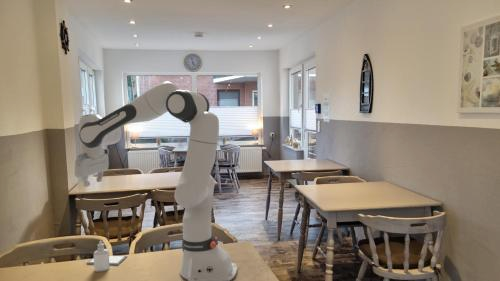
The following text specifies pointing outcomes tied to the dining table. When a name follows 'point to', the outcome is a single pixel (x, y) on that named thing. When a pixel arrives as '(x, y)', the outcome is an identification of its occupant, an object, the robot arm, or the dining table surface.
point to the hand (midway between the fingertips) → (93, 183)
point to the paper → (113, 259)
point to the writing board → (110, 263)
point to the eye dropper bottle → (101, 258)
